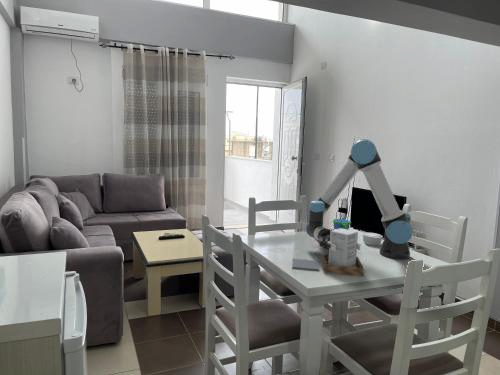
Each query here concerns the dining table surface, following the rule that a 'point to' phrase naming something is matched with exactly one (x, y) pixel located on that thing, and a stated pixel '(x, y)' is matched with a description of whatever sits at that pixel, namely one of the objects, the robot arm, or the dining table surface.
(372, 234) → the ramekin
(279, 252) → the dining table surface
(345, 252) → the supplement box
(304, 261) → the grey pad
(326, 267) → the walnut crate
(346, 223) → the snack cup
